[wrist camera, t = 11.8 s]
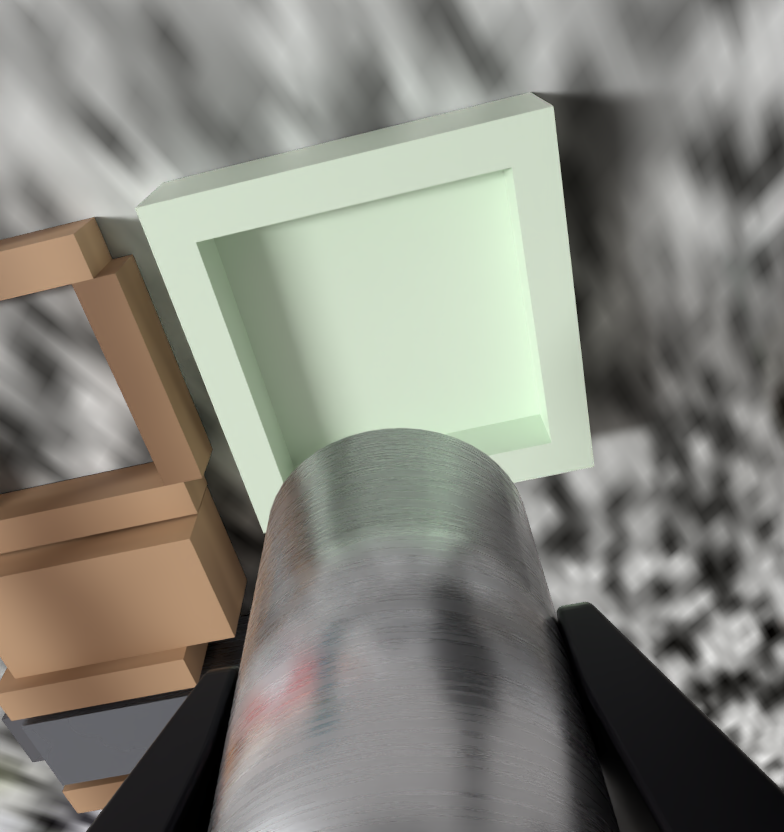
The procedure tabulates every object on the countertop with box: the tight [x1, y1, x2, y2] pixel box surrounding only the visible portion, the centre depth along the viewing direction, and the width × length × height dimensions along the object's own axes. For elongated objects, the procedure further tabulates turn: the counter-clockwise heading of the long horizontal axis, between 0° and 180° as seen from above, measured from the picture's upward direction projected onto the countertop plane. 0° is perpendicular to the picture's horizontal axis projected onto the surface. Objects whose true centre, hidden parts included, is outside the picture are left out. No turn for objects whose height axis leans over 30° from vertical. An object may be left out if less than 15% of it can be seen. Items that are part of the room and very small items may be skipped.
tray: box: [135, 92, 594, 533], centre depth 19 cm, size 9×9×2 cm
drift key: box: [2, 615, 250, 785], centre depth 25 cm, size 11×3×3 cm, turn 103°
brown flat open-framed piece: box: [0, 217, 247, 813], centre depth 22 cm, size 8×18×3 cm, turn 13°
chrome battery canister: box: [208, 428, 620, 832], centre depth 8 cm, size 4×4×8 cm
